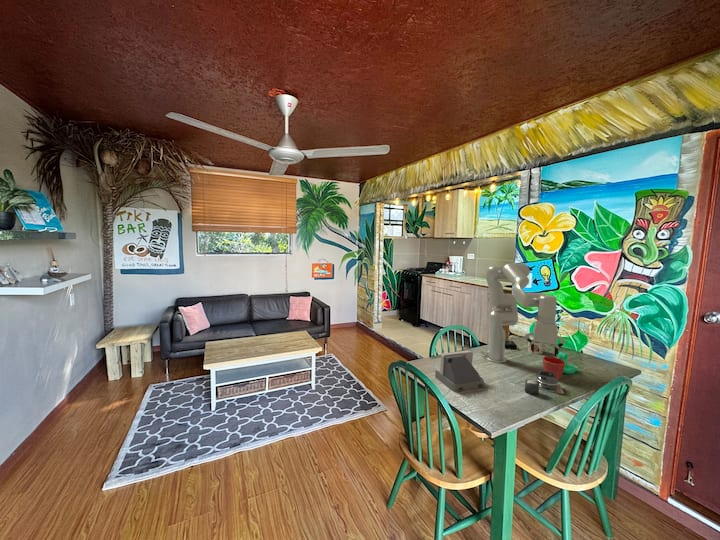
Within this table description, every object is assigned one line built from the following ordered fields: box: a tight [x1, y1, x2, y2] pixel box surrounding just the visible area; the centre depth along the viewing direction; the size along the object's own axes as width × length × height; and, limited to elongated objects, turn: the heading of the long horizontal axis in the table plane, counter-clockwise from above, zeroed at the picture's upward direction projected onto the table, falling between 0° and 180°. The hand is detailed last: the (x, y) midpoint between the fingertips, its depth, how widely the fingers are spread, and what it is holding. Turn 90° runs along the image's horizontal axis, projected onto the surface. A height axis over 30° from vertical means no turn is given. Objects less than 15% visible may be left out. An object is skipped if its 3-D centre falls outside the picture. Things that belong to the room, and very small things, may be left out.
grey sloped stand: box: [434, 350, 485, 393], centre depth 157 cm, size 21×21×15 cm
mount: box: [556, 351, 579, 375], centre depth 174 cm, size 12×8×10 cm, turn 117°
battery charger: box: [505, 339, 518, 350], centre depth 212 cm, size 13×10×4 cm
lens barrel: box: [531, 369, 565, 395], centre depth 154 cm, size 13×11×6 cm
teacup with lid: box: [527, 336, 549, 355], centre depth 202 cm, size 12×9×12 cm
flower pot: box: [542, 356, 565, 381], centre depth 165 cm, size 11×11×10 cm
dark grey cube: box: [524, 378, 540, 396], centre depth 147 cm, size 6×6×6 cm
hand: (543, 353), depth 149 cm, fingers open, 9 cm apart
